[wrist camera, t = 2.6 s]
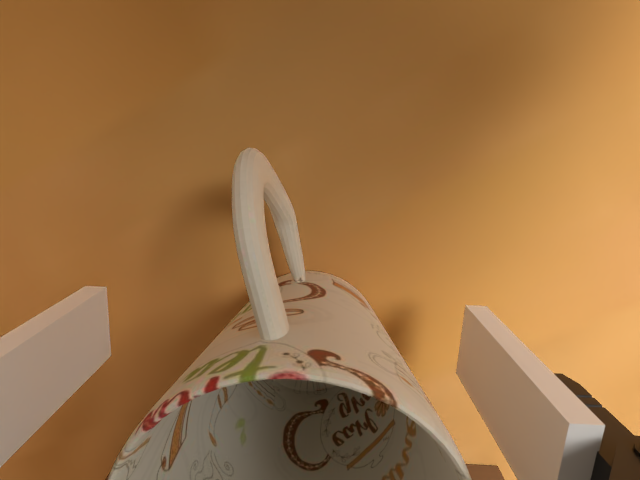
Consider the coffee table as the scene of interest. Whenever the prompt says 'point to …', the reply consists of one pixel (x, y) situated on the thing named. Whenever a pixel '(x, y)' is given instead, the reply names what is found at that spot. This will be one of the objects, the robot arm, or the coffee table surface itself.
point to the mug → (291, 378)
